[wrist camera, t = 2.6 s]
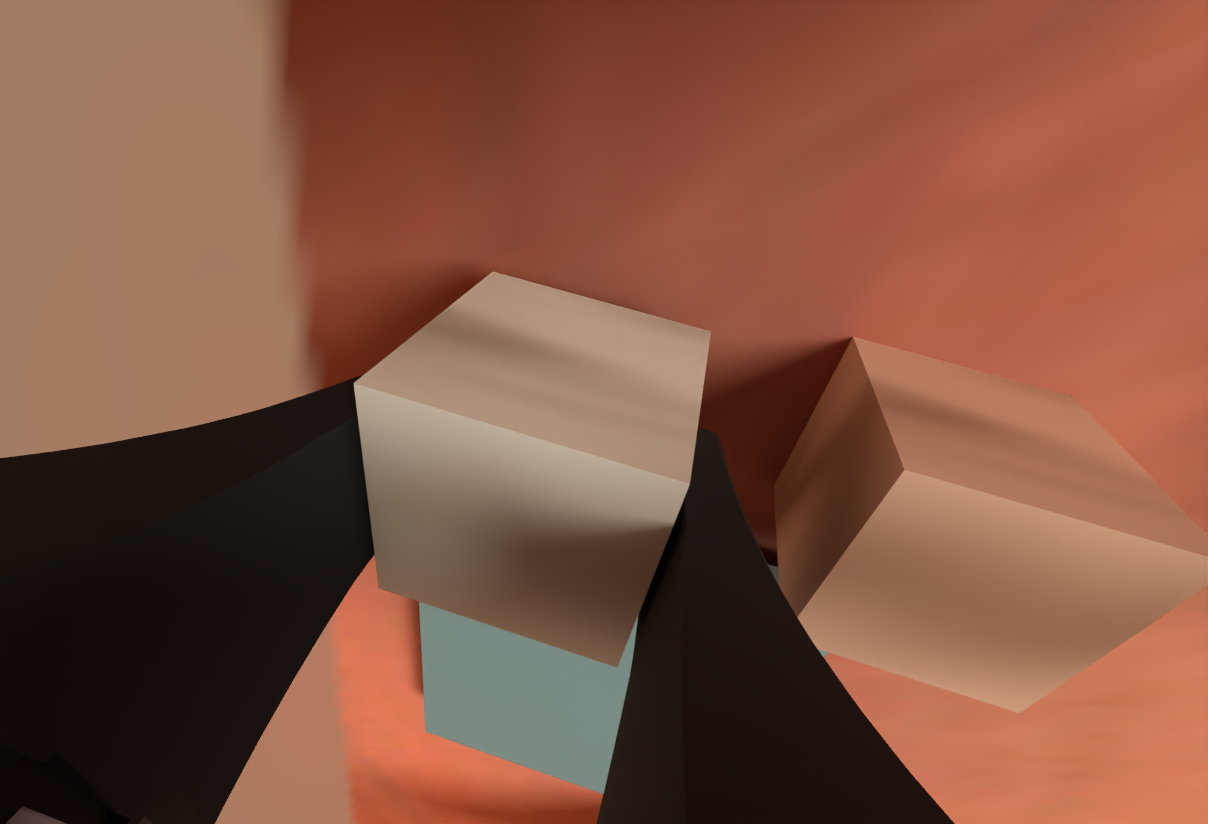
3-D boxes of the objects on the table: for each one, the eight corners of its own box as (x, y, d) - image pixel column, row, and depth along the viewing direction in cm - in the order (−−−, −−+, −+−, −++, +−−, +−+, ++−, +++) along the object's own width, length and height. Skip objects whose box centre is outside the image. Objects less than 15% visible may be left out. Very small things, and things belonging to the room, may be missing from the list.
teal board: (687, 776, 24) (683, 822, 22) (444, 691, 25) (425, 731, 23) (847, 560, 14) (858, 616, 13) (444, 438, 15) (412, 477, 14)
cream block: (655, 493, 13) (617, 667, 9) (482, 441, 13) (378, 588, 9) (711, 331, 10) (689, 483, 6) (492, 271, 10) (353, 382, 7)
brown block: (944, 535, 13) (1019, 713, 10) (773, 484, 14) (782, 638, 10) (1069, 393, 11) (1236, 565, 7) (852, 335, 11) (904, 469, 7)
